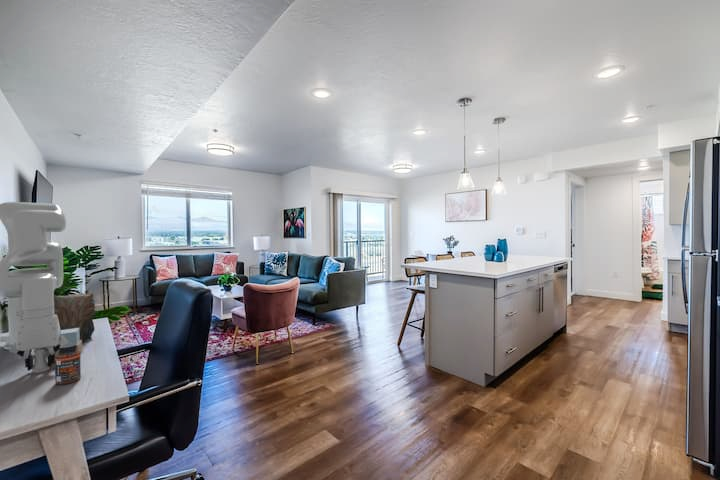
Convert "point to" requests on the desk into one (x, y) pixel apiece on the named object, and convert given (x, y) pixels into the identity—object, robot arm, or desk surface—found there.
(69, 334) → the slate block
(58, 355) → the supplement bottle
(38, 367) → the rook chess piece
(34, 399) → the desk surface
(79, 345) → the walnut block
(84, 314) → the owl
